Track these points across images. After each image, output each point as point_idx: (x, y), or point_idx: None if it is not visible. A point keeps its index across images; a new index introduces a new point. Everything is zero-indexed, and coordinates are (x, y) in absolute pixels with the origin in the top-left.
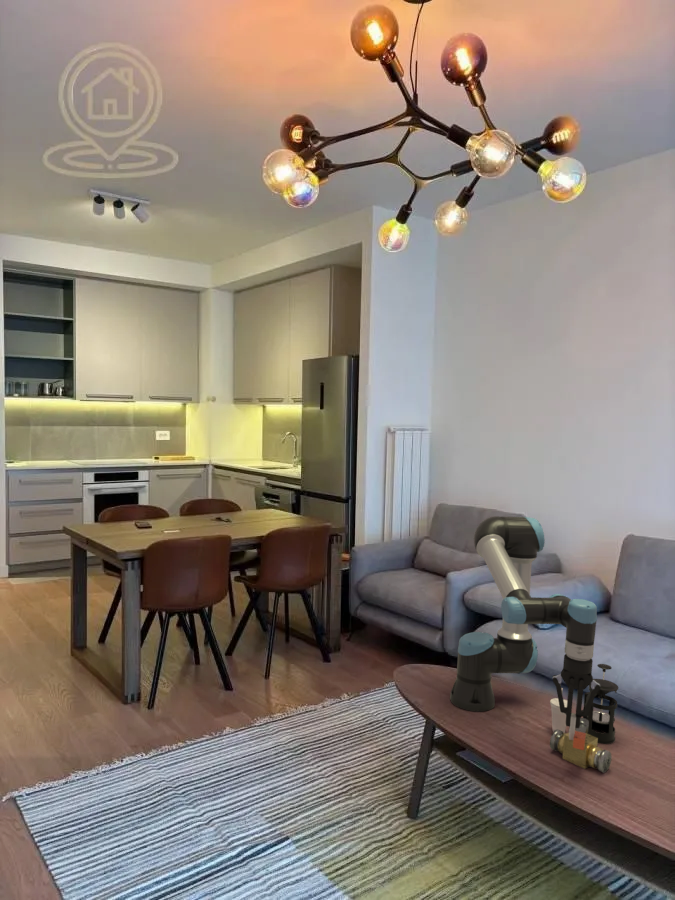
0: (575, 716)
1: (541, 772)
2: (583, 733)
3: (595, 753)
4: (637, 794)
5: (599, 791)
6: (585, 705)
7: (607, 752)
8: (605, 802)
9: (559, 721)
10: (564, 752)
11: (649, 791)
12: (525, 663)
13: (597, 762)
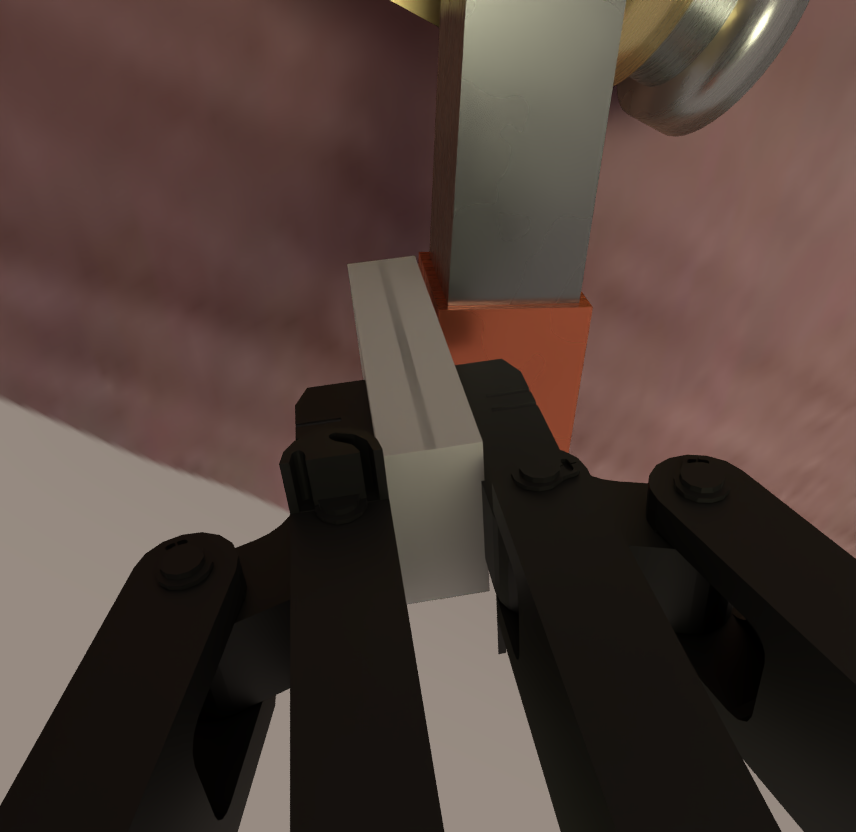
0: (479, 551)
1: (144, 306)
2: (558, 331)
3: (641, 57)
4: (852, 261)
5: (587, 354)
6: (767, 705)
7: (787, 30)
8: (609, 458)
9: None
10: None
11: None
12: None
13: (633, 115)
